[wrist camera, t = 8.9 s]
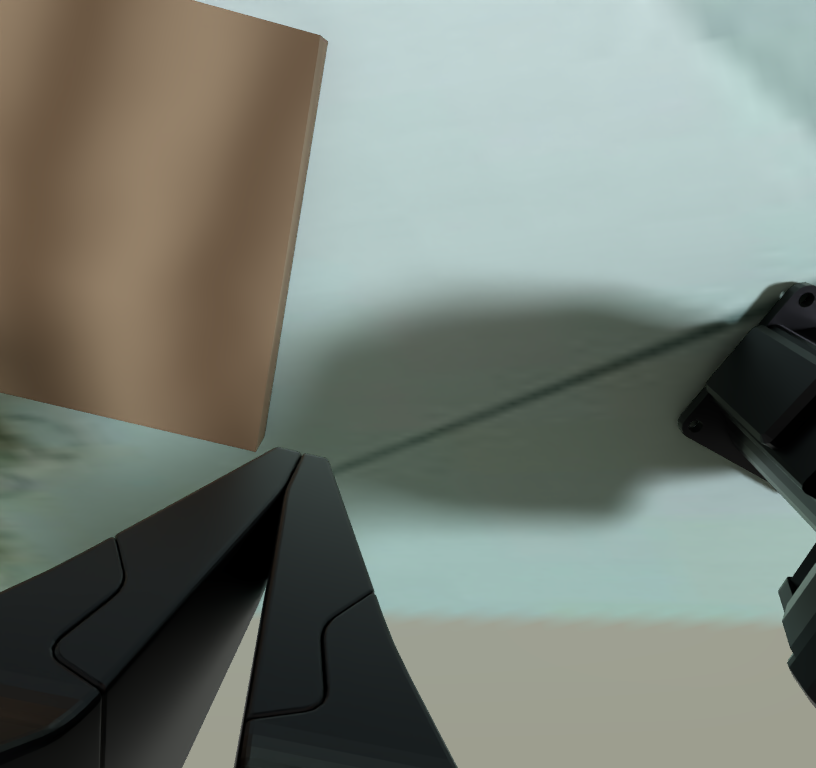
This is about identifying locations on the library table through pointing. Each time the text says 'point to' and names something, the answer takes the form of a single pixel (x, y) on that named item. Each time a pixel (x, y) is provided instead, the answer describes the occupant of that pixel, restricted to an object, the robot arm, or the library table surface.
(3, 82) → the board
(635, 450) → the library table surface
